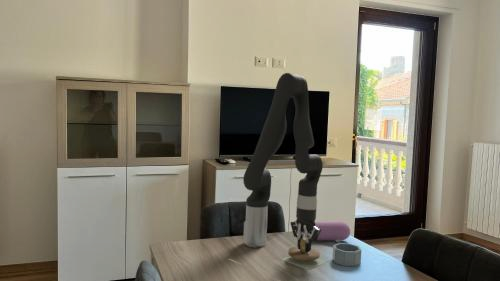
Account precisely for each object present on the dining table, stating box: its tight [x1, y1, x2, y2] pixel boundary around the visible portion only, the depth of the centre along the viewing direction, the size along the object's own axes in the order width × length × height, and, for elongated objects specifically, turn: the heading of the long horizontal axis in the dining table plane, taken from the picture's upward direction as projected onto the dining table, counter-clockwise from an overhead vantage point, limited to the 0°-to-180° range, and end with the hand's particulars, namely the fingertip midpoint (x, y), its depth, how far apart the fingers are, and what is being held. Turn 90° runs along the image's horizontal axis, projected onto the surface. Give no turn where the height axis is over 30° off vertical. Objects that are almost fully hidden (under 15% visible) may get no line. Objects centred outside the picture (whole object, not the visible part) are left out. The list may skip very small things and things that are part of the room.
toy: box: [308, 221, 351, 243], centre depth 185 cm, size 8×9×20 cm
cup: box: [332, 242, 362, 267], centre depth 158 cm, size 10×10×6 cm
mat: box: [280, 255, 329, 270], centre depth 158 cm, size 13×13×1 cm
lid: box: [287, 237, 321, 261], centre depth 157 cm, size 12×12×6 cm
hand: (304, 250), depth 157 cm, fingers closed on lid, 3 cm apart
